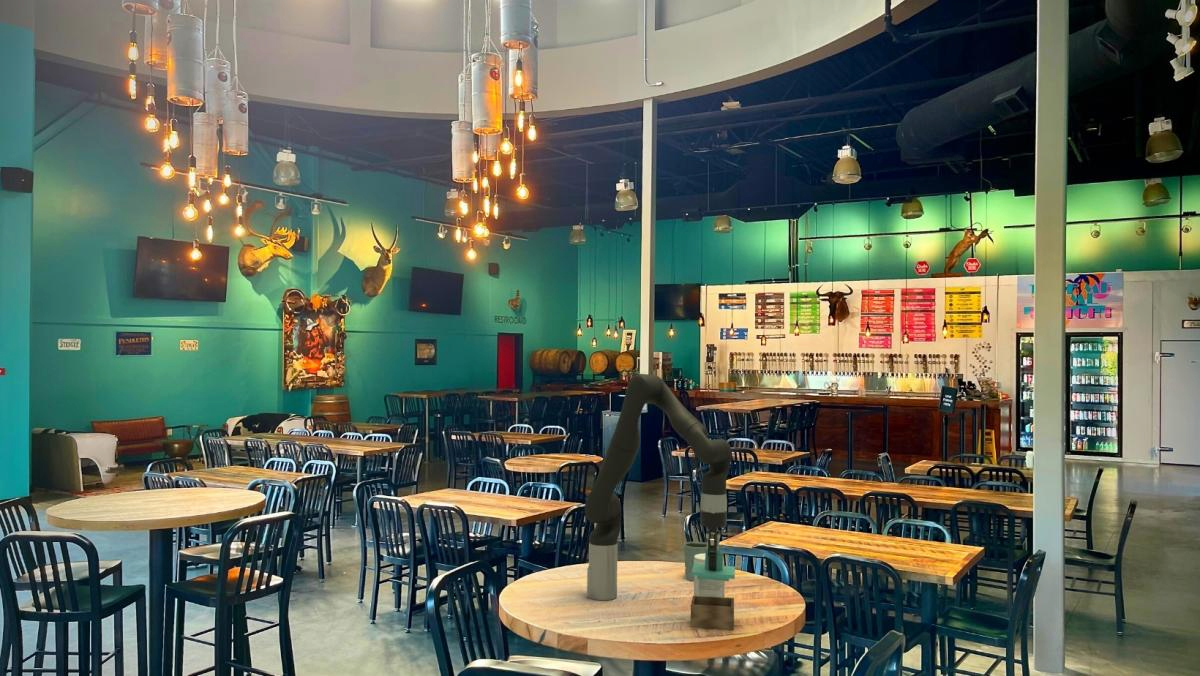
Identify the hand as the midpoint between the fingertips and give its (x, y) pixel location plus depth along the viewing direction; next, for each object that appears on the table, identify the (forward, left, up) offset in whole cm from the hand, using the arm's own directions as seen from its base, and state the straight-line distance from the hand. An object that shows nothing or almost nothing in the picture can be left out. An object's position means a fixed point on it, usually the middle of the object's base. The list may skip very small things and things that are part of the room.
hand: (712, 568), depth 238 cm
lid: (0, 0, -2) cm, 2 cm away
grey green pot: (-7, +51, -17) cm, 55 cm away
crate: (0, 0, -16) cm, 16 cm away
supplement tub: (-2, +22, -17) cm, 28 cm away
